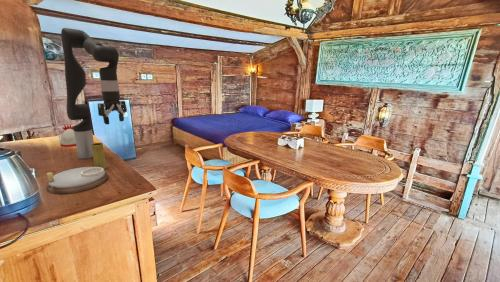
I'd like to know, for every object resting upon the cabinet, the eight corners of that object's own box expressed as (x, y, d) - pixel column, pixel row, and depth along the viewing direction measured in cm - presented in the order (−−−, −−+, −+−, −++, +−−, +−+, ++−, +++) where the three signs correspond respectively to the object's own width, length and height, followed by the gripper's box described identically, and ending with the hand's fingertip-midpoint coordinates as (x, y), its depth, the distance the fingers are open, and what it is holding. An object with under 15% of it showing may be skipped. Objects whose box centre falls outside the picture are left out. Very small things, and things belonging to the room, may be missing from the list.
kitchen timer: (65, 142, 178) (61, 123, 174) (86, 141, 182) (83, 122, 178) (57, 147, 165) (52, 126, 161) (79, 146, 169) (76, 126, 165)
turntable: (54, 174, 117) (52, 163, 116) (105, 166, 128) (104, 157, 126) (43, 192, 99) (40, 180, 97) (104, 182, 109) (102, 171, 108)
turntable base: (37, 185, 109) (36, 179, 109) (92, 169, 129) (91, 163, 129) (61, 199, 98) (60, 192, 97) (117, 179, 118) (116, 173, 117)
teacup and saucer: (67, 137, 192) (66, 132, 191) (70, 139, 187) (69, 134, 186) (53, 139, 185) (52, 134, 184) (56, 141, 180) (55, 136, 179)
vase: (91, 169, 129) (87, 144, 125) (101, 165, 134) (97, 142, 130) (100, 171, 127) (96, 146, 123) (109, 167, 132) (106, 143, 129)
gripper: (116, 89, 121) (120, 119, 125) (90, 90, 108) (96, 124, 112) (128, 89, 119) (131, 121, 123) (103, 91, 106) (107, 126, 110)
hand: (114, 122), depth 118 cm, fingers open, 8 cm apart
